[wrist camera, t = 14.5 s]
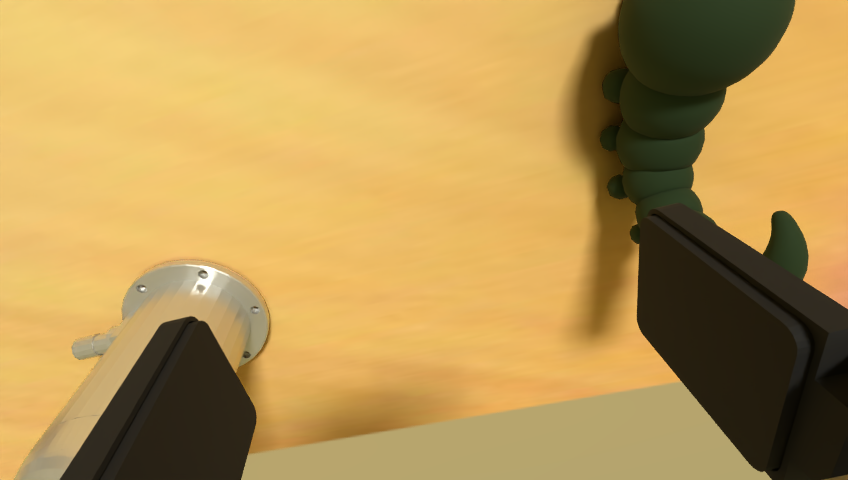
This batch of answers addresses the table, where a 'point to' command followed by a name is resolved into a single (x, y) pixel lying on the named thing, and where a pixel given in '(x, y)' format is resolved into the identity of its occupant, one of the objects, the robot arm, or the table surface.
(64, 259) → the table surface
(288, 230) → the table surface
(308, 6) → the table surface
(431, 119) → the table surface
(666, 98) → the toy figurine
